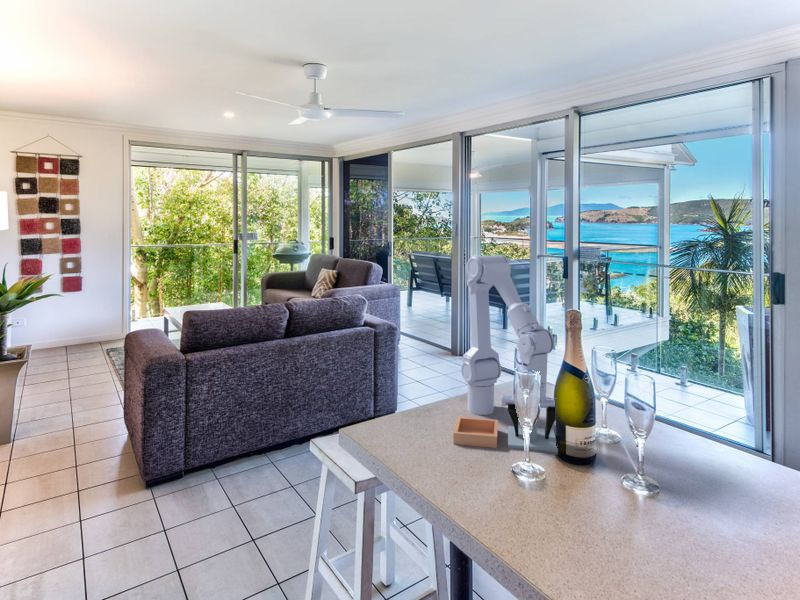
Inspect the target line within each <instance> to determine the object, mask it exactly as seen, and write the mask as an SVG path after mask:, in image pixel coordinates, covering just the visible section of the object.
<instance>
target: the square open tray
mask: <svg viewBox="0 0 800 600" xmlns="http://www.w3.org/2000/svg"><path fill="white" fill-rule="evenodd" d="M456 419H457V420H456V422H455V426H454V429H453V430H454V431H453V441H452V442H453V445H461V446H470V447H471V446H472V447H480V448H481V447H482V448H490V449H491V448H493V449H497V448H498V433H499V432H498V431H499V420H498V419H493V418H492V419H487V418H477V417H464V416H457V418H456Z"/></svg>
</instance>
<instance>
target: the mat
mask: <svg viewBox="0 0 800 600" xmlns="http://www.w3.org/2000/svg"><path fill="white" fill-rule="evenodd" d="M507 451H514V452H525V451H524V449H515V448H508V447H507ZM528 453H539V454H548V455H549V454H550V455H559V451H558V452H549V451H538V450H529V452H528Z"/></svg>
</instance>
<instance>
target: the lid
mask: <svg viewBox="0 0 800 600" xmlns="http://www.w3.org/2000/svg"><path fill="white" fill-rule="evenodd" d="M521 427H522V426H518V432H519V434H518V436H515V429H514V425H508V426H507V449H508V448H515V449H524V438H523V431H522V428H521ZM555 438H556V435H555V429H552V428H551V431H550V434H549V439H545V428H541V427H538V426H537V422H536V423H535V425H534V427H533V429H532V432H531V437H530V444H529V450H538V451H549V452H558V453H559V447H558V445H557V446H556V442H557V441H556V442H555ZM557 447H558V448H557Z"/></svg>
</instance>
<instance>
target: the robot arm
mask: <svg viewBox="0 0 800 600" xmlns="http://www.w3.org/2000/svg"><path fill="white" fill-rule="evenodd" d="M511 270H512V265H511V264H510V262H509V259H508V258H507V256H506V255H504V254H492V255H472V256H471V257H470V258H469V259H468V261H467V262H466V263H465V273H466V275H465V276H466V286H467V287H468V298H469V300H468V301H469V321H470V341H471V344H470V345H471V347H470V348H469V349H468V350H467V351H466V352H465V353H464V354H463V355H462V364H461V367H460V368H461V369H460V371H461V377H462V378H463V380H464V381H465V383H467V412H469V413H470V414H473V415H478V416H487V415H492V414H493V413H494V410H495V407H496V405H495V404H494V403H495V383H496V384H497V383H498V381H497V380H498V379H499V378H500V377H501V376H502V375H501V374H502V365H501V362H500V359H499V358H500V357H499V353H498V351H496V350H495V349H493V348H492V345H491V344H492V343H491V342H492V341H491V340H492V337H491V321H490V320H491V318H490V297H489V296H490V295H489V292H490V289H491V288H492V287H493V286H494V287H495V289H496V290H497V292H498V293H499V295H500V297H501V299H502V300H503V302H504V303H505V305H506V306H507V308H508V311H507V312H506V313H507V314H506V315H507V318H508V320H509V321H510V324H511V327H512V328H513V331H514V332H515V334H516V336H517V338H518V341H516V347H517V350H518V351H519V360H520V362H521V370H522V369H524V370H534V371H536V372H537V371H538V372H539V371H540V373H539V374H540V375H541V381H540V382H541V402H540V408H541V409H546V414H545V417H546V418H545V427H544V429H545V439H549V434H550V431H551V429H552V427H553V425H554V424H555V422H556V420H555V400H554V398H553V397H550V396H549V397H548V396H547V377H548V375H547V374H548V358H549V357H548V356H549V355H548V354H549V353H551V352H552V351H553V349H554V346H555V344H554V343H555V341H554V337H553V335H552V333H551V331H550V330H548V329H547V328H545V327H544V326H543V325H541V324H540V323H539V321H538V319H537V318H536V315H535V314H534V312H533V311H532V308H531V306H530V304H528V303H524V302H523V301H522V299H521V297H520V295H519V293H518V290H517V288H516V286H515V283H514V281H513V279H512V277H511ZM514 395H515V394H514ZM514 395H501V407H507V412H508V414H509V417H510V418H511V421H512V423H513V425H512V426H514V429H515V436H518V434H519V432H518V427H519V416H518V417H517V413H516V409H515V404H514ZM540 408H539V409H540Z"/></svg>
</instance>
